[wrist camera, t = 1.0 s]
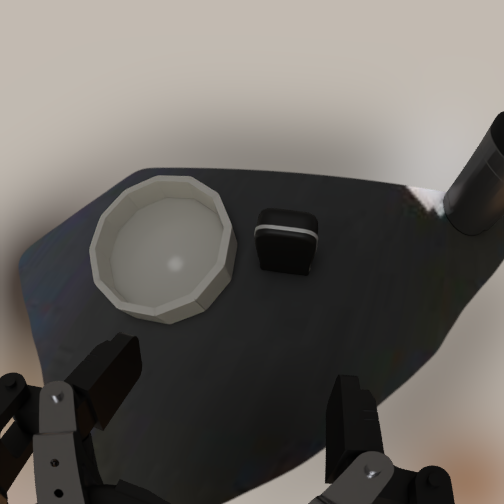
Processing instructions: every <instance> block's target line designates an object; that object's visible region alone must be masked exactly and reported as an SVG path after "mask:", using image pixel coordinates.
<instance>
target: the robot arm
mask: <svg viewBox="0 0 504 504" xmlns="http://www.w3.org/2000/svg"><path fill="white" fill-rule="evenodd" d="M443 203H444V209H445V213H446V215H447V217H448V219H449V220H450V222H451V223H452V224H453V225H454V227H456V228H457V229H458V230H459V231H461V232H462V233H464V234H467V235H477V234H479V233H481V232H482V231H483V230H488V229H489V228H491V227H492V226H493V225H494V224H495V223H496V222H497V221H498V220H499V219H500V218H501V217H502V216H503V215H504V112H501V113H500V114H498V116H497V117H496V118H495V120H494V121H493V123H492V125H491V126H490V128H489V130H488V131H487V133H486V135H485V136H484V138H483V140H482V141H481V143H480V144H479V146H478V147H477V149H476V151H475V152H474V154H473V155H472V157H471V158H470V160H469V161H468V163H467V164H466V166H465V167H464V169H463V170H462V172H461V173H460V175H459V176H458V177H457V179H456V180H455V182H454V183H453V184H452V186H451V187H450V189H449V190H448V191H447V193H446V194H445V197H444V202H443ZM141 371H142V361H141V354H140V347H139V340H138V338H137V337H136V336H133V335H129V334H126V333H122V332H119V333H118V334H117V335H116V336H115V337H114V338H113V339H112V340H111V341H108V340H107V341H105V342H103V343H101V344H99V345H97V346H96V347H95V348H94V349H93V350H92V351H91V353H90V355H88V356H87V357H86V358H85V360H84V361H82V362H81V363H80V364H79V365H78V366H77V368H76V369H75V370H74V371H73V372H72V373H71V374H70V375H69V376H68V377H67V378H66V379H65V381H64V382H62V381H53V382H50V383H48V384H46V385H45V386H44V387H43V388H41V387H36V386H30V385H27V384H26V381H25V379H24V377H23V376H22V375H20V374H18V373H8V374H5V375H4V376H2V377H1V378H0V433H1V431H2V429H3V428H4V427H5V426H6V424H7V423H8V422H9V420H10V419H11V418H12V417H13V419H14V420H15V421H14V422H13V424H12V425H11V426H10V427H9V429H8V430H7V431H6V433H5V434H4V435H3V436H2V438H1V439H0V504H8V502H7V501H8V500H7V499H8V497H7V491H8V490H9V488H10V486H11V485H12V483H13V482H14V480H15V478H16V477H17V475H18V474H19V472H20V471H21V469H22V468H23V466H24V465H25V463H26V462H27V460H28V459H29V457H30V456H31V454H32V453H33V457H34V474H35V486H36V494H37V504H170V503H168V502H167V501H165V500H163V499H162V498H160V497H158V496H157V495H155V494H153V493H152V492H150V491H148V490H146V489H144V488H141V487H138V486H136V485H133V484H130V483H128V482H125V481H123V480H121V479H120V480H119V482H118V484H117V485H108V484H105V485H104V484H103V481H102V479H101V477H100V474H99V471H98V467H97V462H96V458H95V453H94V447H93V442H92V436H91V433H90V431H91V430H92V428H93V427H95V428H97V429H100V430H102V431H103V430H104V429H105V427H106V426H107V424H108V423H109V422H110V420H111V419H112V417H113V416H114V414H115V413H116V411H117V410H118V408H119V407H120V405H121V404H122V402H123V401H124V399H125V398H126V396H127V395H128V393H129V392H130V390H131V389H132V388H133V386H134V385H135V383H136V382H137V380H138V379H139V377H140V375H141ZM378 419H379V418H378V412H377V406H376V401H375V399H374V397H373V396H372V394H371V393H370V391H369V390H360V385H359V379H358V377H357V376H350V375H338V376H337V379H336V381H335V384H334V387H333V390H332V393H331V396H330V398H329V401H328V405H327V410H326V470H325V472H326V473H325V483H329V484H332V485H331V486H329V488H327V489H326V491H324V492H323V493H322V494H321V495H320V496H317V497H316V498H314V499H313V500H312V501H311V502H310V503H308V504H455V503H454V496H453V491H452V484H451V479H450V476H449V474H448V473H447V472H446V471H445V470H444V469H443V468H441V467H438V466H427V467H424V468H423V469H421V470H420V471H419V472H414V471H409V470H405V469H401V468H398V467H396V466H394V465H393V463H392V461H391V460H390V458H389V457H387V456H386V455H385V454H384V450H383V443H382V436H381V430H380V424H379V421H378Z"/></svg>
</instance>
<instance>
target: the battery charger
mask: <svg viewBox="0 0 504 504" xmlns="http://www.w3.org/2000/svg"><path fill="white" fill-rule="evenodd" d="M317 235H318V221H317V219H316V217H315V216H314V215H312V214H310V213H307V212H300V211H292V210H284V209H274V208H267V209H265V210H263V211H262V212H261V213H260V214H259V217H258V222H257V227H256V228H255V233H254V236H255V246H256V250H257V254H258V257H259V260H260V267H261V269H264V270H270V271H277V272H285V273H292V274H300V275H308V274H309V271H310V266H311V263H312V260H313V258H314V255H315V252H316V249H317V243H318V236H317Z"/></svg>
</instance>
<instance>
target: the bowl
mask: <svg viewBox="0 0 504 504" xmlns="http://www.w3.org/2000/svg"><path fill="white" fill-rule="evenodd" d="M101 216H102V217H100V219H99V222H98V225H97V228H96V230H95V233H94V236H93V239H92V242H91V245H90V248H89V249H90V250H89V252H90V259H91V266H92V272H93V278H94V283H95V285H96V286H97V287H98V288H99V289H100V290H101V291H102V292H103V294H104V295H105V296H106V297H107V298H108V299H109V300H110V301H111V302H112V303H113V304H114V306H115V307H116V308H118V309H119V310H121V311H123V312H125V313H127V314H129V315H131V316H133V317H135V318H139V319H144V320H149V321H154V322H159V323H164V324H173V323H175V322H178V321H180V320H183V319H186V318H188V317H191V316H193V315H196V314H199V313H201V312H204V311H205V310H207V309H208V308H209V306H210V305H211V304H212V303H213V302H214V300H215V299H216V298H217V297H218V296H219V294H220V293H221V292H222V291H223V290H224V288H225V287H226V286H227V285H228V283H229V282H230V281H231V280H230V279H232V273H233V267H234V262H235V256H236V250H237V245H238V244H237V241H236V237H235V234H234V231H233V227H232V224H231V222H230V220H229V217H228V215H227V213H226V210H225V208H224V205H223V203H222V201H221V198H220V196H219V194H218V193H217V192H215V191H213V190H212V189H210V188H209V187H207V186H206V185H204V184H202V183H201V182H199V181H198V180H196V179H194V178H193V177H190V176H155V177H153V178H150V179H148V180H146V181H144V182H141V183H139V184H137V185H135V186H132V187H130V188H128V189H126V191H125V190H124V191H123V192H122V194H121V195H120V196H119V197H118V198H117V199H116V200H115V201H114V202H113V203H112V204H111V205H110V206H109V207H108V209H107V210H106V211H105V212H104V213H103V214H102V215H101Z"/></svg>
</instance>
